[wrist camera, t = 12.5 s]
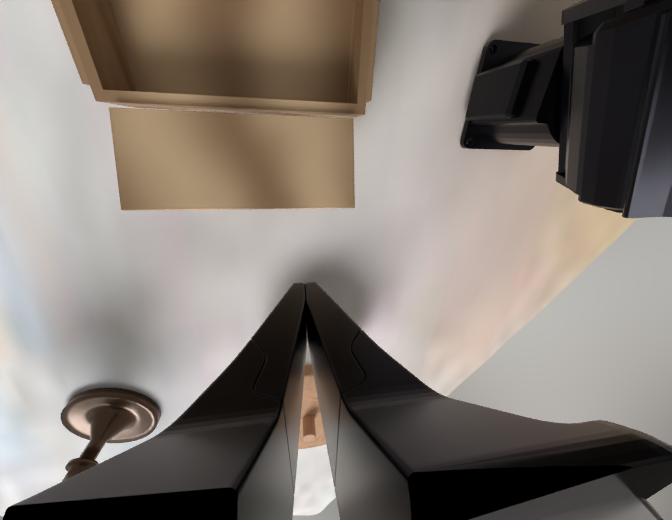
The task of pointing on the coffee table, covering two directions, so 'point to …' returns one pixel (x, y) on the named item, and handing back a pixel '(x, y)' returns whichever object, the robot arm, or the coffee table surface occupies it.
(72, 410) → the candlestick
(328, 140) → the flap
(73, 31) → the carton
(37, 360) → the coffee table surface
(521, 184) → the coffee table surface
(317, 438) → the lidded jar
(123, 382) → the coffee table surface
